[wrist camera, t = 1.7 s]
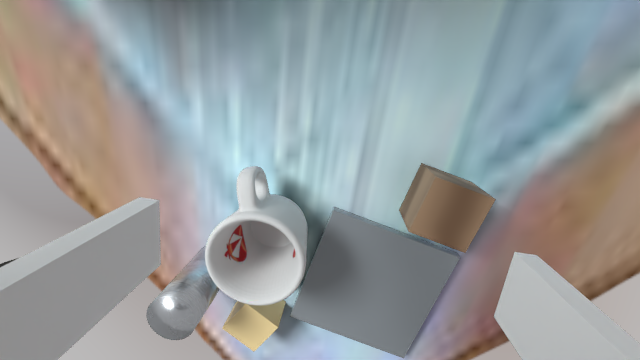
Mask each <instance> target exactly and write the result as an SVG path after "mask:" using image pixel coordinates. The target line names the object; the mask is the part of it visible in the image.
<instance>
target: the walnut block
mask: <svg viewBox="0 0 640 360" xmlns="http://www.w3.org/2000/svg"><path fill="white" fill-rule="evenodd" d="M495 200H496V199H494V198H493V197H492V196H490V195H489V194H487V193H486V192H485V191H483V190H482V189H480V188H479V187H478V186H476V185H475V184H474V183H472V182H470V181H467V180H465V179H462V178H460V177H457V176H454V175H452V174H449V173H446V172H444V171H441V170H439V169H436V168H433V167H431V166H428V165H425V164H423V163H421V165H420V167H419V169H418V171H417V173H416V176H415V178H414V180H413V182H412V184H411V186H410V188H409V190H408V192H407V195H406V197H405V199H404V201H403V203H402V205H401V207H400V209H399V211H400V213H401V215H402V218H403V220H404V222H405V225H406V227H407V229H408V231H409V232H411V233H413V234H416V235H419V236H421V237H424V238H427V239H429V240H432V241H435V242H437V243H440V244H443V245H445V246H448V247H451V248H453V249H456V250H459V251H461V252H464V253H466V251H467V249H468V247H469V245H470V244H471V242H472V240H473V238H474V237H475V235H476V233H477V231H478V230H479V228H480V226H481V224H482V223H483V221H484V219H485V217H486V215H487V214H488V212H489V210H490V208H491V207H492V205H493V203H494V201H495Z"/></svg>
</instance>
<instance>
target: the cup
mask: <svg viewBox="0 0 640 360" xmlns="http://www.w3.org/2000/svg"><path fill="white" fill-rule="evenodd" d="M237 196H238V202H239V210H237V211H236V212H234V213H233V214H232V215H230V216H229V217H227V218H226V219H225V220H223V221H222V222H221V223H219V224H218V225H217V226H216V227H215V229H214V230H213V231H212V233H211V235H210V236H209V238H208V241H207V244H206V248H205V261H206V266H207V270H208V272H209V275H210V277H211V278H212V280H213V282H214V283H215V284H216V285H217V287H218V288H219V289H220V290H221V291H223V292H224V293H225V294H226V295H228V296H229V297H231V298H233V299H235V300H236V301H239V302H242V303H245V304H249V305H259V306H262V305H270V304H274V303H277V302H280V301H282V300H284V299H286V298H287V297H288V296H290V295H291V294H292V293H293V292H294V291H295V290H296V289H297V288H298V286H299V285H300V283H301V281H302V279H303V276H304V273H305V268H306V252H307V222H306V218H305V216H304V214H303V212H302V210H301V209H300V208H299V206H298V205H297V204H296V203H295V202H293V201H292V200H290V199H288V198H286V197H284V196H280V195H274V194H270V193H269V189H268V184H267V179H266V175H265V173H264V171H263V169H262V168H260V167H257V166H252V167H247V168H245V169H243V170H242V171H241V172H240V173H239V176H238V178H237Z"/></svg>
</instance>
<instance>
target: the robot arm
mask: <svg viewBox="0 0 640 360" xmlns="http://www.w3.org/2000/svg"><path fill="white" fill-rule="evenodd" d="M160 265H161V260H160V212H159V200H155V199H148V198H141V197H139V198H137V199H135V200H133V201H131V202H129V203H127V204H125V205H123V206H121V207H119V208H117V209H115V210H114V211H112V212H110V213H108V214H106V215H104V216H102V217H100V218H98V219H96V220H94V221H92V222H90V223H88V224H86V225H84V226H82V227H80V228H78V229H76V230H74V231H72V232H70V233H68V234H66V235H64V236H62V237H60V238H58V239H56V240H54V241H52V242H50V243H48V244H46V245H44V246H42V247H40V248H38V249H36V250H34V251H32V252H30V253H28V254H26V255H24V256H22V257H20V258H17V259H14V260H11V261H8V262H4V263H2V264H0V360H58V359H59V358H60V357H61V356H62V355H63V354H64V353H65V352H66V351H68V350H69V349H70V348H71V347H72V346H73V345H74V344H75V343H76V342H77V341H78V340H79V339H81V338H82V337H83V336H84V335H85V334H86V333H87V332H88V331H89V330H90V329H91V328H92V327H93V326H95V325H96V324H97V323H98V322H99V321H100V320H101V319H102V318H103V317H104V316H105V315H107V314H108V313H109V312H110V311H111V310H112V309H113V308H114V307H115V306H116V305H117V304H119V303H120V302H121V301H122V300H123V299H124V298H125V297H126V296H127V295H128V294H129V293H130V292H132V291H133V290H134V289H135V288H136V287H137V286H138V285H139V284H140V283H141V282H142V281H144V280H145V279H146V278H147V277H148V276H149V275H150V274H151V273H152V272H153V271H154V270H155V269H157V268H158V267H159V266H160ZM494 318H495V319H496V321H497V322H498V324H499V325H500V327H501V328H502V330H503V331H504V333H505V334H506V336H507V338H508V339H509V341H510V342H511V344H512V345H513V347H514V348H515V350H516V351H517V353H518V354H519V356H520V357H521V359H522V360H640V344H639V342H637V341H636V340H635V339H634V338H633V337H631V336H630V335H629V334H628V333H627V332H626V331H625V330H623V329H622V328H621V327H620V326H619V325H618V324H616V323H615V322H614V321H613V320H612V319H611V318H609V317H608V316H607V315H606V314H605V313H604V312H602V311H601V310H600V309H599V308H598V307H597V306H595V305H594V304H593V303H592V302H591V301H590V300H588V299H587V298H586V297H585V296H584V295H583V294H581V293H580V292H579V291H578V290H577V289H576V288H574V287H573V286H572V285H571V284H570V283H569V282H567V281H566V280H565V279H564V278H563V277H562V276H560V275H559V274H558V273H557V272H556V271H555V270H553V269H552V268H551V267H550V266H549V265H548V264H546V263H545V262H544V261H543V260H542V259H541V258H539V257H538V256H537V255H532V254H525V253H519V252H514V256H513V259H512V262H511V265H510V268H509V271H508V274H507V277H506V280H505V283H504V287H503V290H502V293H501V296H500V299H499V302H498V305H497V308H496V311H495V314H494Z"/></svg>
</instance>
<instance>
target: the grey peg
mask: <svg viewBox="0 0 640 360" xmlns="http://www.w3.org/2000/svg"><path fill="white" fill-rule="evenodd" d="M205 248H206V246H204V247H203V248H202V249H201V250H200V251H199V252H198V253H197V254H196V255H195V256H194V258H193V259H192V260H191V261H190V262H189V263H188V264H187V265H186V266H185V267H184V268H183V269H182V270H181V272H180V273H179V274H178V275H177V276H176V277H175V278H174V279H173V280H172V281H171V282H170V283H169V284H168V286H167V287H166V288H165V289H164V290H163V291H162V292H161V293H160V294H159V295H158V296H157V298H155V300H154V301H153V302H152V303H151V304H150V305H149V307H148V309H147V320H148V323H149V325H150V327H151V328H152V329H153V330H154V331H155V332H156V333H157V334H158V335H160V336H162V337H164V338H167V339H171V340H180V339H184V338H186V337H188V336H189V335H191V333H192V332H193V331H194V329H195V327H196V326H197V324H198V323H199V321H200V320H201V318H202V317H203V315H204V313H205V312H206V310H207V309H208V307H209V306H210V304H211V303H212V301H213V299H214V298H215V296H216V295H217V293H218V292H219V290H220V289H219V288H218V287H217V285H216V284H215V283H214V282H213V280H212V278H211V277H210V275H209V272H208V270H207V266H206V261H205Z"/></svg>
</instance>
